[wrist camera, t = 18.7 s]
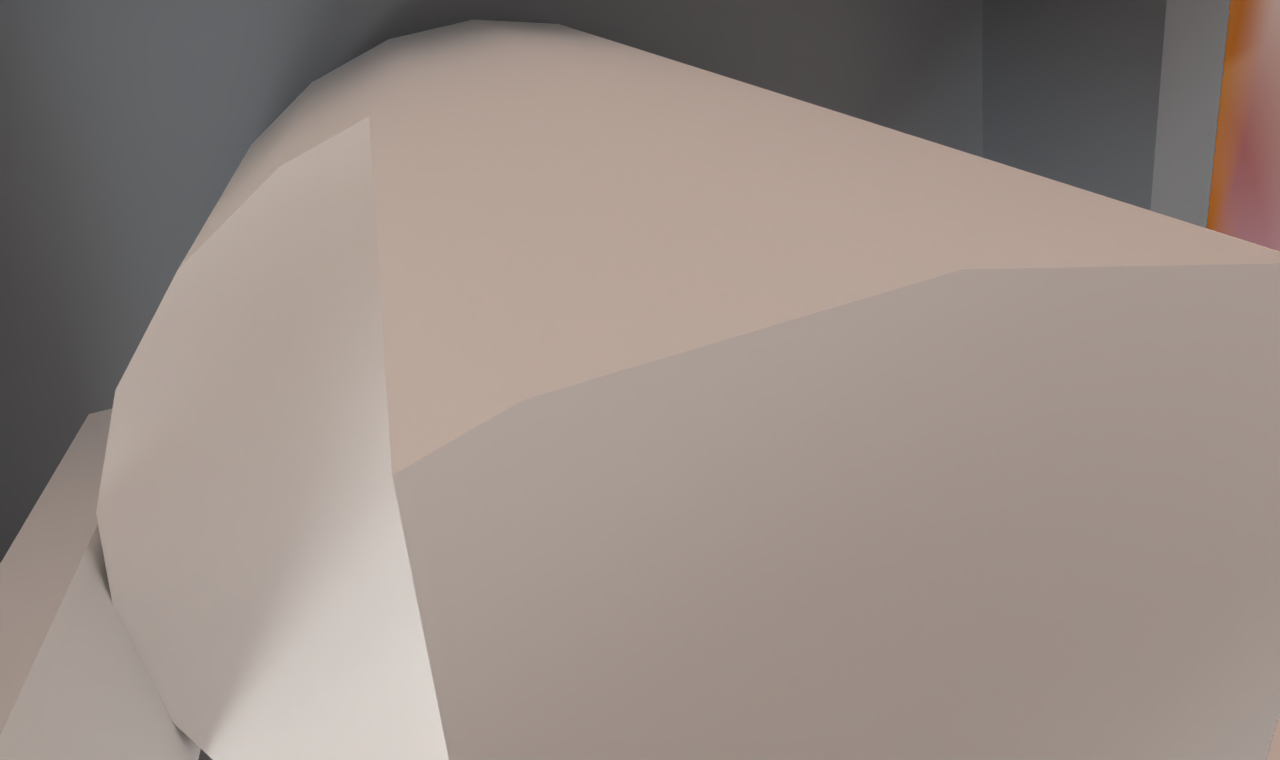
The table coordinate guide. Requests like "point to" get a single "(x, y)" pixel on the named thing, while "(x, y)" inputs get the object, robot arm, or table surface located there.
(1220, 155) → the table surface
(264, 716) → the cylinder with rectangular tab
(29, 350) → the tote
